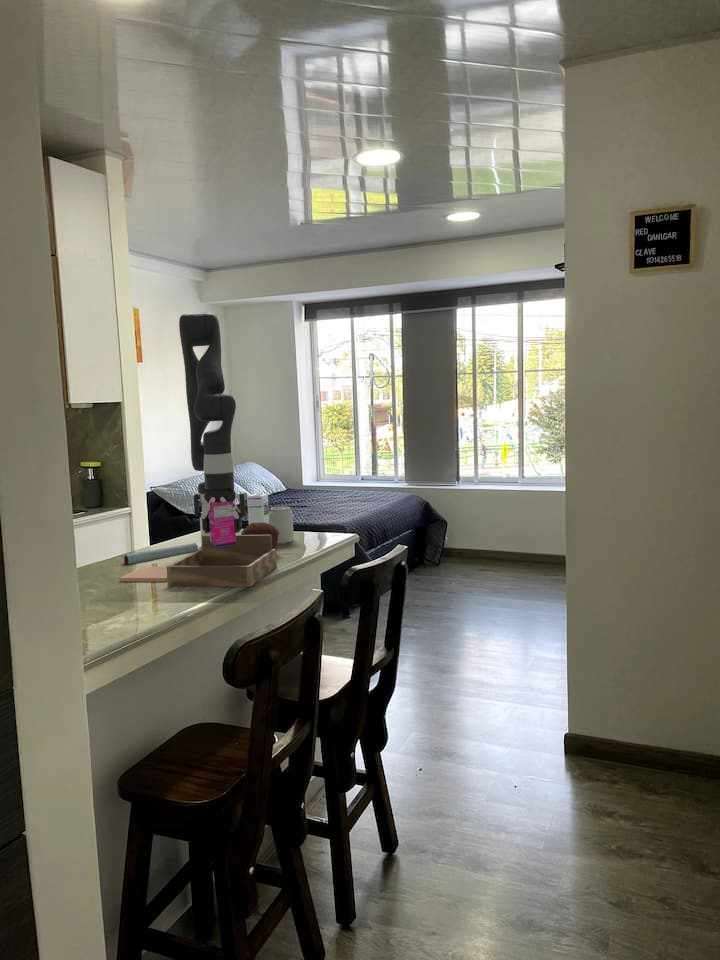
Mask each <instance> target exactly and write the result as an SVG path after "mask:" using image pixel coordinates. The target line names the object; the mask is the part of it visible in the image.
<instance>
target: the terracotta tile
mask: <svg viewBox="0 0 720 960" xmlns="http://www.w3.org/2000/svg"><path fill="white" fill-rule="evenodd" d="M119 582H126V583H127V582H128V583H129V582H132V583H133V582H135V583H136V582H145V583H146V582H148V583H149V582H152V583H153V582H155V583H156V582H159V583H160V582H161V583H162V582H163V583H165V582H167V583H168V581H167V566H141V567H139V568H137V569H134V570H133V571H131V572H129V573H126V574H124V575H122V576H120V577H119Z"/></svg>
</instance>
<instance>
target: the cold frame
mask: <svg viewBox="0 0 720 960" xmlns="http://www.w3.org/2000/svg"><path fill="white" fill-rule="evenodd" d="M277 563H278V562H277V550H276V549H272V535H241V534H236V544H235V545H226V546H218V547H215V545H213V544H212V543H211V540H210V535H202V545H201V549H198V551H194V552H191V554H189V555H187V556H184V557H183V558H180V559H179V560H177V561H175V562H173V563H171V564H169V565H166V567H167V586H168V587H246V588H247V587H250V588H251V587H253V586H254V585H256V583H258V582H259V581H261V579H263V578H264V577H265V576H266V575H268V574H270V573H271V572H272V571H273V570H275V569H276V568H277V565H278V564H277Z"/></svg>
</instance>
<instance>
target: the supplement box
mask: <svg viewBox="0 0 720 960" xmlns="http://www.w3.org/2000/svg"><path fill="white" fill-rule="evenodd" d="M228 503H229V504H230V505H231V506H232V507H233V502H224V503H222V502H214V503H210V511H209V513H208V514H209V527H210V540H211V543H212V544H213V545H215V547H218V546H226V545H235V544H236V535H237V533H235V527H234V519H235V517H234V516H233V515H232V512H229V507H228ZM208 508H209V507H208ZM233 508H234V507H233Z"/></svg>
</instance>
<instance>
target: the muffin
mask: <svg viewBox="0 0 720 960" xmlns="http://www.w3.org/2000/svg"><path fill="white" fill-rule="evenodd" d="M279 534H280V533H279V532H278V530H277V529H276V528H275V527H274V526H272V525H271V524H269V523H264V522H258V523H253V524H250V525H249V524H248V525H247V526H246V527H245V528H243V530H242V531H241V534H240V535H272V549H276V551H277V549H278V543H277V541H278V536H279Z"/></svg>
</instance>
